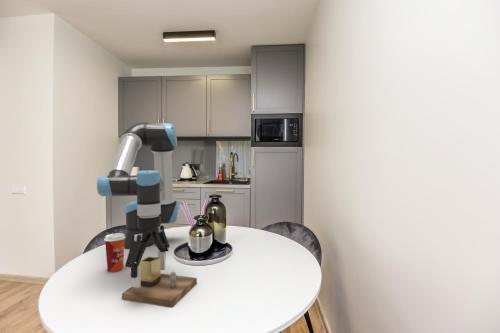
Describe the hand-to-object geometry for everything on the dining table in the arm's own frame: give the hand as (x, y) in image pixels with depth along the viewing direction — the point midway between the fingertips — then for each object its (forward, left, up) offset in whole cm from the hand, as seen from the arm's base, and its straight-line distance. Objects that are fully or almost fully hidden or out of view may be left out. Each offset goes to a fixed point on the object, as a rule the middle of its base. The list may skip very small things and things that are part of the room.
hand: (149, 277), depth 90 cm
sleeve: (0, 0, -2) cm, 2 cm away
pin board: (0, +4, -4) cm, 6 cm away
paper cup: (-11, -24, -4) cm, 27 cm away
